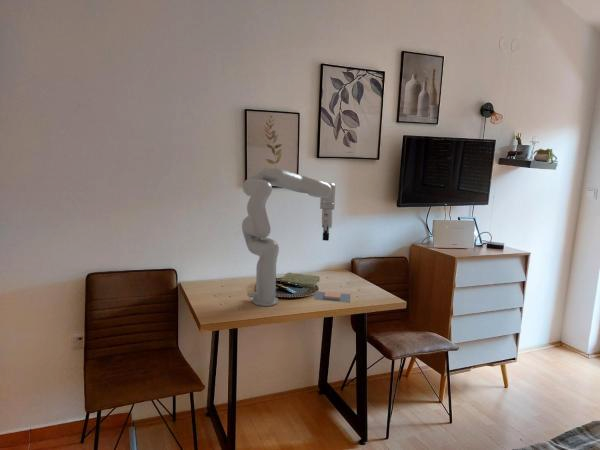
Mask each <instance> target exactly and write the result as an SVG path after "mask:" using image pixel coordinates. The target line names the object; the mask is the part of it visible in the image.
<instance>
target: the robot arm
mask: <svg viewBox="0 0 600 450" xmlns="http://www.w3.org/2000/svg"><path fill="white" fill-rule="evenodd" d="M272 186H274V187H275V186H276V187H279V188H281V189H282V188H283V189H285V190H289V191H292V192H295V193H300V194H308V196H310V197H313V198H319V199H320V201H319V202H320V203H319V204H320V206H319V209H321V228H323V229H322V231H323V232H322V241H330V239H329V238H330V229H332V227H333V210H335V201H336V200H335V199H336V184H335V183H333V182H324V181H322V180H318V179H314V178H311V177H308V176H305V175H302V174H298V173H295V172H292V171H289V170H286V169H283V168H280V167H270V166H269V167H266V168H264V169H261V170H260V171H258V172H257V173H255V174H254V175H252V176H250V177H248V178H247V179H246V180H245V181H244V182H243V185H242V190H243V193H244V194H245V195H247V196H248V197H249V199H248V201H247V205H246V211H247V212H246V213H247V216H246V217H245V218H244V219H243V221H242V223H241V231H242V234H243V238H244V241H245V243H246V247H247V249H248V251H249V252H250V253H251V254H253V255H255V256H258V260H257V263H256V272H255V273H256V277H255V280H256V281H255V291H254V292H252V291H248V292H247V296H248V298H252V303H253V304H255V305H257V306H259V307H260V306H261V307H269V306H270V307H271V306H275V305H277V304H278V303H279V298H278V297H276V293H277V292H276V291H277V289H276V287H277V261H278V256H279V251H280V250H279V244H278V243H277V241H275V240H274V239H272V238H269V236H270V234H271V225H270V220H269V217H268V214H267V210H266V205H267V204H266V203H267V201H268V200H269V198H270V196H271V194H272V191H273V187H272Z"/></svg>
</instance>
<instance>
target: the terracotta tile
mask: <svg viewBox="0 0 600 450" xmlns="http://www.w3.org/2000/svg"><path fill="white" fill-rule="evenodd" d="M324 292H325V295H324V299H330V300H340V297H341V294H342V292H339V291H327V290H326V291H324Z"/></svg>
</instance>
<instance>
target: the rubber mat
mask: <svg viewBox="0 0 600 450" xmlns="http://www.w3.org/2000/svg"><path fill="white" fill-rule="evenodd" d="M324 295H325V291H316V292H315V294H314V298H313V300H315V301H325V302H326V301H328V302H338V303H351V295H352V294H351V293H341V297H340V300H330V299H324Z"/></svg>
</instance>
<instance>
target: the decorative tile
mask: <svg viewBox="0 0 600 450" xmlns="http://www.w3.org/2000/svg"><path fill="white" fill-rule="evenodd" d="M320 278H321V277H320V275H313V274H302V273H292V272H286V273H285V274H284V276H283V277H282V278H281V280H280V283H281V282H290V283H293V284H297V285H299V286H298V287H302V288H303V287H305V288H315V287H316V285H317V283H318V282H320V281H321V280H320Z"/></svg>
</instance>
